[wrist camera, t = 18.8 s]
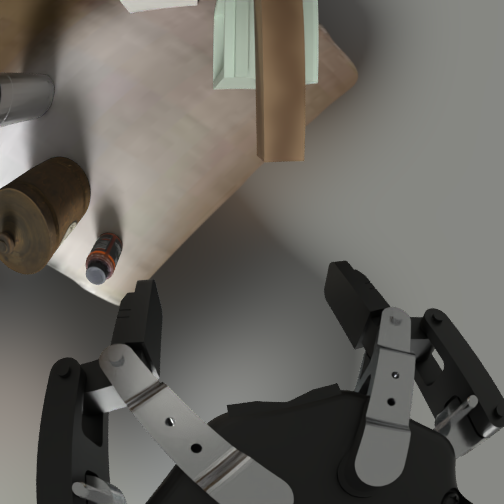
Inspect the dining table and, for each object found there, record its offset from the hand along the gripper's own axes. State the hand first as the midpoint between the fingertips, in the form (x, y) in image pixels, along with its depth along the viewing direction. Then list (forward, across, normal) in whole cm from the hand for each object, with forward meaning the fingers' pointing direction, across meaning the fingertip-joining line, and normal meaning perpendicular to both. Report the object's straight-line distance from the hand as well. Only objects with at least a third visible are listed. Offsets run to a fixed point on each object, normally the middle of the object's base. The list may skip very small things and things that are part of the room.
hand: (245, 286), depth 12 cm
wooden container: (+40, +31, +5) cm, 51 cm away
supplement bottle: (+40, +22, +18) cm, 49 cm away
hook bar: (+19, -6, -14) cm, 24 cm away
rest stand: (+40, -6, -18) cm, 44 cm away
